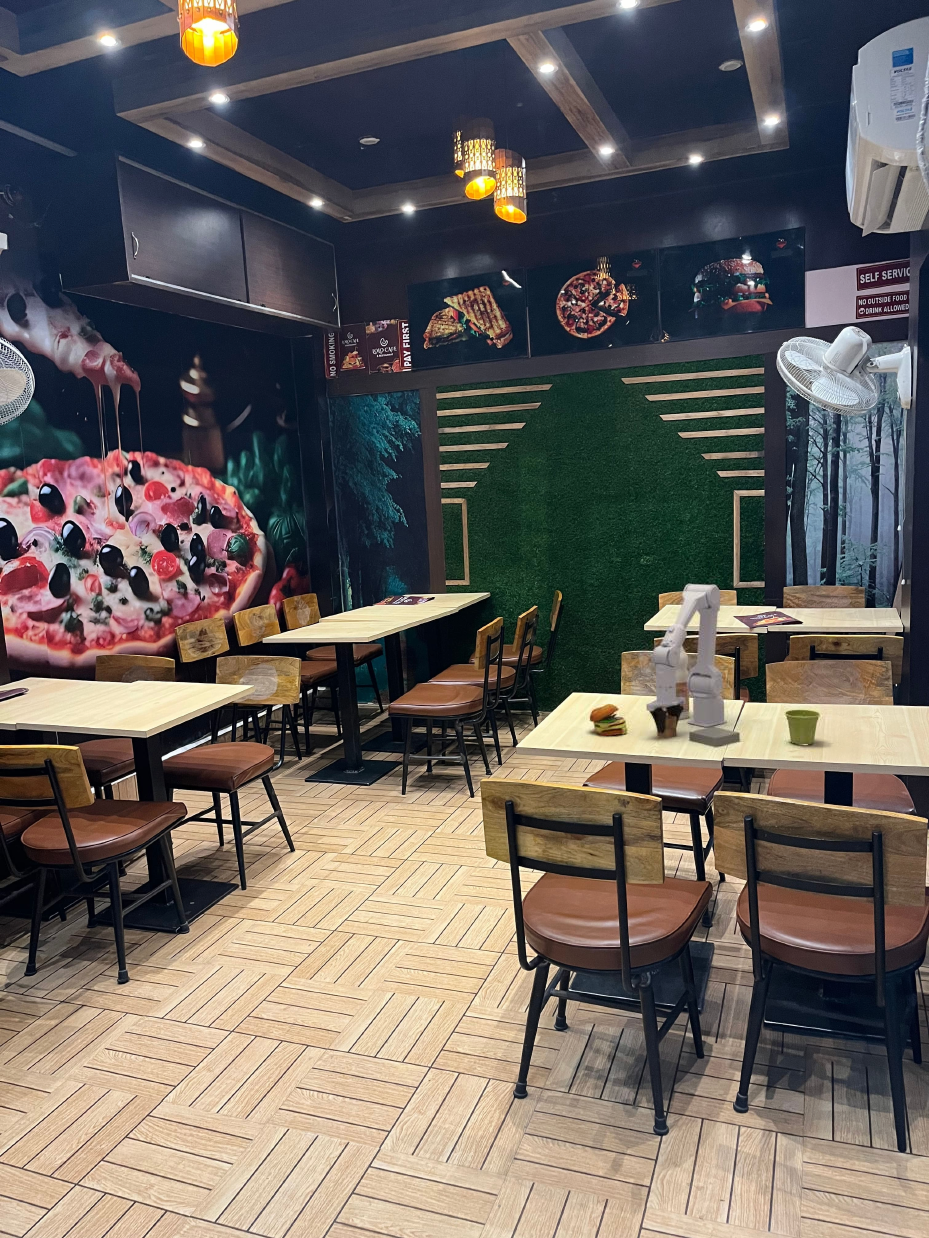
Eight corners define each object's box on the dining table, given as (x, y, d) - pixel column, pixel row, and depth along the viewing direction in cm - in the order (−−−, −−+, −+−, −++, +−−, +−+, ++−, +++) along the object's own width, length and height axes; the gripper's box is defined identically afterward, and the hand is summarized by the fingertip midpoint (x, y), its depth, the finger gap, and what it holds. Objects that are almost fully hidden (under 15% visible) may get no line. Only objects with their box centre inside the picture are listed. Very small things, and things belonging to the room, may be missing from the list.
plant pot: (823, 747, 249) (823, 716, 248) (787, 747, 251) (788, 716, 250) (816, 738, 259) (816, 709, 258) (782, 738, 260) (782, 709, 259)
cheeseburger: (621, 738, 268) (612, 705, 268) (589, 743, 274) (581, 711, 274) (633, 729, 277) (625, 698, 277) (602, 735, 283) (594, 704, 283)
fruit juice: (654, 717, 293) (652, 632, 290) (670, 712, 299) (669, 629, 296) (678, 721, 286) (677, 634, 283) (695, 716, 293) (694, 631, 289)
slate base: (713, 736, 268) (713, 726, 268) (739, 742, 260) (739, 732, 259) (689, 742, 263) (689, 732, 262) (715, 748, 254) (715, 738, 254)
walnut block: (666, 733, 271) (666, 714, 271) (676, 736, 268) (676, 716, 267) (657, 736, 269) (656, 716, 269) (667, 738, 266) (666, 718, 265)
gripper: (658, 691, 260) (659, 737, 261) (693, 684, 268) (693, 729, 269) (641, 688, 266) (641, 733, 267) (675, 681, 273) (676, 725, 275)
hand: (666, 730), depth 269 cm, fingers open, 4 cm apart
